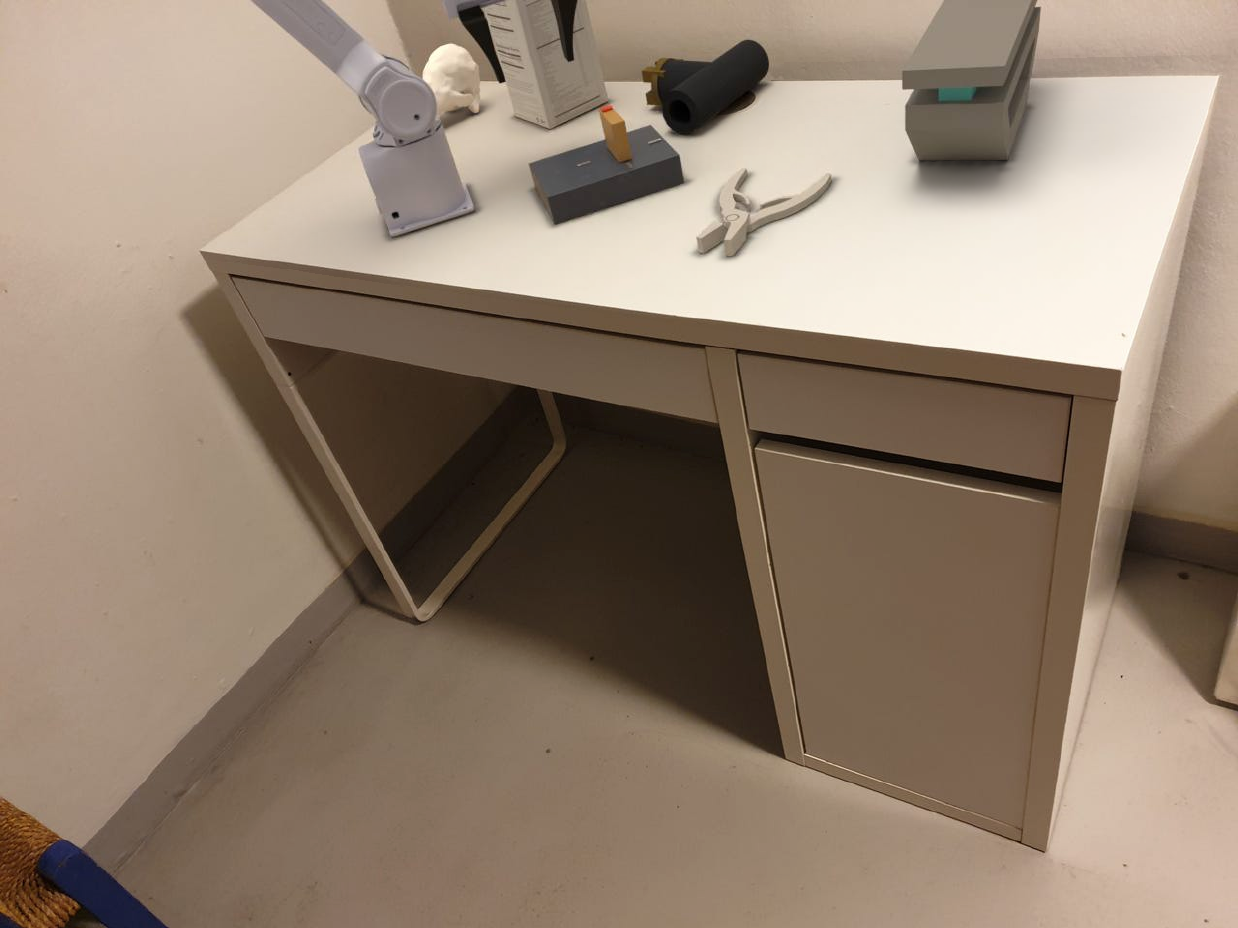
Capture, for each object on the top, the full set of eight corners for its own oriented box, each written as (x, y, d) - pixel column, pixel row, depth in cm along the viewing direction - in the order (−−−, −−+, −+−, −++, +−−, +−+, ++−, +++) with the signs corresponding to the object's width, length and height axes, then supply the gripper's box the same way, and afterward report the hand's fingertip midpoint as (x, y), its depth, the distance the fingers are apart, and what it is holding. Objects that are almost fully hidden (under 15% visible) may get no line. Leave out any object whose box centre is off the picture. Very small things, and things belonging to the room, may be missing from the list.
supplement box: (572, 90, 121) (539, -49, 110) (611, 101, 115) (580, -44, 104) (512, 117, 118) (472, -23, 107) (549, 130, 111) (510, -17, 101)
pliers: (833, 165, 85) (763, 244, 76) (834, 180, 86) (765, 260, 77) (739, 160, 90) (664, 233, 81) (741, 175, 91) (667, 249, 82)
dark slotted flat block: (554, 224, 91) (546, 195, 89) (535, 189, 99) (527, 162, 97) (684, 183, 92) (679, 153, 90) (655, 151, 100) (650, 123, 98)
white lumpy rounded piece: (472, 38, 118) (410, 83, 112) (496, 100, 123) (438, 146, 118) (440, 37, 121) (378, 81, 116) (464, 98, 127) (406, 142, 121)
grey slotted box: (955, 84, 97) (959, -26, 90) (1035, 81, 93) (1045, -34, 86) (902, 194, 81) (902, 71, 74) (995, 195, 78) (1004, 66, 71)
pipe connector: (612, 83, 103) (686, 35, 111) (621, 129, 107) (691, 79, 114) (695, 90, 97) (767, 39, 105) (701, 138, 100) (770, 85, 108)
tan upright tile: (632, 159, 92) (623, 118, 89) (619, 163, 92) (610, 122, 89) (619, 143, 96) (610, 103, 93) (606, 147, 96) (598, 107, 93)
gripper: (559, -99, 91) (590, 40, 100) (422, -57, 90) (466, 79, 99) (574, -90, 86) (606, 56, 95) (429, -46, 85) (474, 98, 94)
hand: (535, 69), depth 97 cm, fingers open, 7 cm apart
